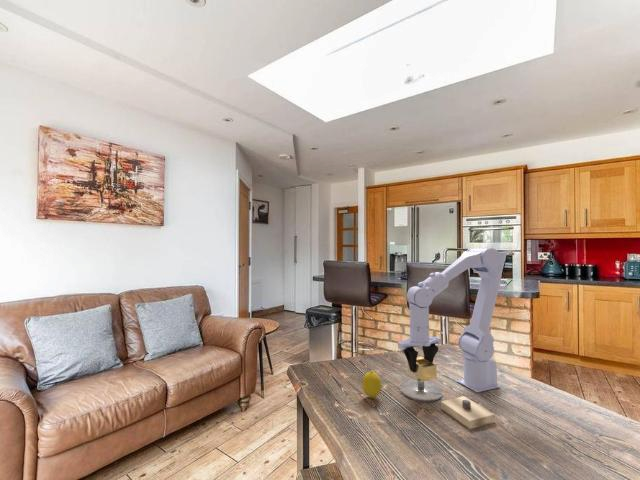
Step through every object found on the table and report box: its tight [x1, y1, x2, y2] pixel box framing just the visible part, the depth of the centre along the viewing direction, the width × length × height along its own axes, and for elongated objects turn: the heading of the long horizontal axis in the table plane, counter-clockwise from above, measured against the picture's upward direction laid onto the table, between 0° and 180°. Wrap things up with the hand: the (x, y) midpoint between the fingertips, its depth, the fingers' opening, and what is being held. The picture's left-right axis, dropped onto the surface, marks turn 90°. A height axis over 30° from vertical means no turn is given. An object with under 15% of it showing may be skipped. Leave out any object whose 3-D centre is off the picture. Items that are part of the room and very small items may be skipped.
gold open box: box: [407, 356, 438, 381], centre depth 93 cm, size 5×7×4 cm
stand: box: [440, 395, 495, 430], centre depth 80 cm, size 8×10×4 cm
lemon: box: [362, 370, 382, 399], centre depth 90 cm, size 6×6×8 cm
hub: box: [400, 377, 443, 403], centre depth 94 cm, size 12×12×4 cm
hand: (420, 369), depth 94 cm, fingers closed on gold open box, 5 cm apart
